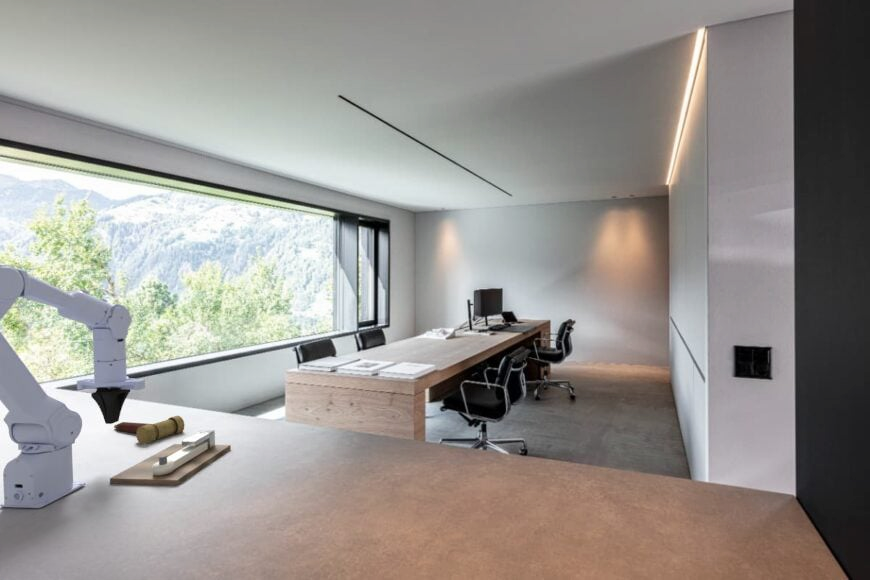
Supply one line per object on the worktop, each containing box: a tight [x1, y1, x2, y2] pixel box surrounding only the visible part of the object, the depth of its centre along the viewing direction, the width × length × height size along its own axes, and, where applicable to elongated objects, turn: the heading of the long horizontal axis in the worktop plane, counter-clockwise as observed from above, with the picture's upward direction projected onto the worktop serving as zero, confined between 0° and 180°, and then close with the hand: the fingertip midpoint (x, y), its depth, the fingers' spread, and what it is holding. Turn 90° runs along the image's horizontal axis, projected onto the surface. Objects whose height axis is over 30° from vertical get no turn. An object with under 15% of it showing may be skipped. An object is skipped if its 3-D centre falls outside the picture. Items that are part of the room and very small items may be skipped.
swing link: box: [153, 442, 208, 475], centre depth 97 cm, size 14×4×3 cm, turn 174°
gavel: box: [113, 415, 185, 445], centre depth 121 cm, size 21×5×10 cm
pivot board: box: [109, 443, 231, 486], centre depth 99 cm, size 19×14×1 cm
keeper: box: [181, 429, 216, 449], centre depth 104 cm, size 8×3×4 cm, turn 174°
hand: (112, 422), depth 100 cm, fingers closed
